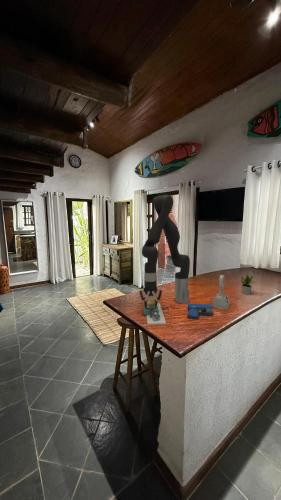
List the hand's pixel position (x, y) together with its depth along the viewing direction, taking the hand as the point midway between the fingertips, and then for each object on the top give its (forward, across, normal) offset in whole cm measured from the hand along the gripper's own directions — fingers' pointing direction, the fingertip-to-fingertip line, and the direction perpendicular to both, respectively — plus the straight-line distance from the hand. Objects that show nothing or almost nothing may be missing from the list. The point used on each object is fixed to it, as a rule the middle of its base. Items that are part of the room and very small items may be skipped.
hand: (150, 306), depth 129 cm
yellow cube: (+1, 0, 0) cm, 1 cm away
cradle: (+4, 0, 0) cm, 4 cm away
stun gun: (+5, +29, -3) cm, 30 cm away
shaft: (+4, +1, -8) cm, 9 cm away
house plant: (+5, +76, +28) cm, 81 cm away
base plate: (+5, +2, 0) cm, 5 cm away
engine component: (+5, +47, +8) cm, 48 cm away
